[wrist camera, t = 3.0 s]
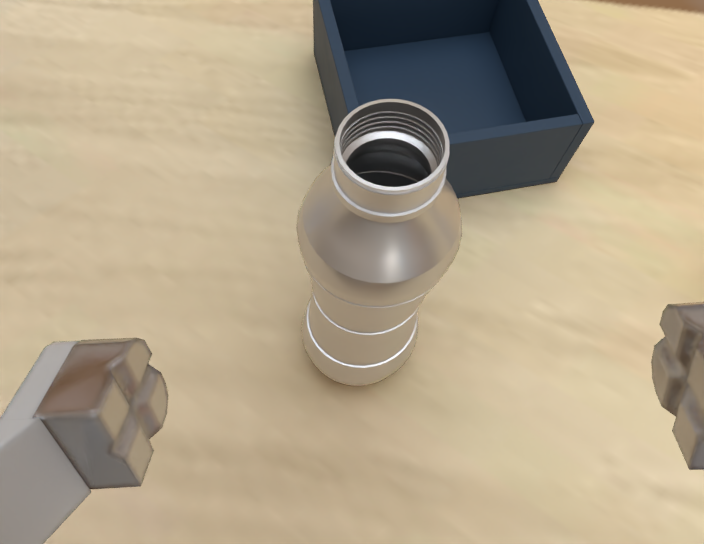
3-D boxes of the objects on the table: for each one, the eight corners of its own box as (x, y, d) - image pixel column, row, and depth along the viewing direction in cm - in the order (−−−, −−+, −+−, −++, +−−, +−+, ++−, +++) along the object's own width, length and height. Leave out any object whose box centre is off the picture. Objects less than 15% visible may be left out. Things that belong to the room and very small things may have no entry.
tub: (354, 215, 41) (360, 158, 35) (313, 52, 47) (312, -21, 41) (556, 181, 43) (595, 121, 37) (493, 29, 49) (517, -44, 43)
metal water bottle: (286, 318, 38) (252, 102, 20) (383, 277, 39) (436, 40, 21) (329, 413, 35) (337, 268, 17) (431, 365, 37) (536, 186, 19)
